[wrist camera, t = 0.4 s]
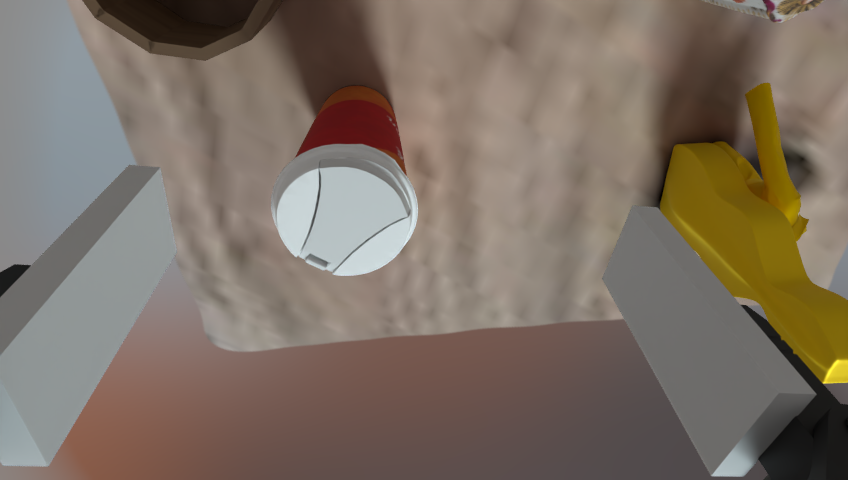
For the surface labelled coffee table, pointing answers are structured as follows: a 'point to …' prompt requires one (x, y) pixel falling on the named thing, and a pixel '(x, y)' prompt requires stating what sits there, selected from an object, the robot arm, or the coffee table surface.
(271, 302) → the coffee table surface
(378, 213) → the coffee cup
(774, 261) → the figure statuette
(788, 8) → the decorative jar
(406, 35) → the coffee table surface
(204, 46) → the ring
